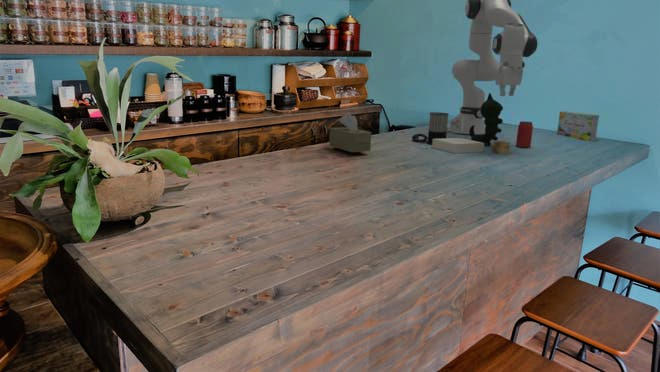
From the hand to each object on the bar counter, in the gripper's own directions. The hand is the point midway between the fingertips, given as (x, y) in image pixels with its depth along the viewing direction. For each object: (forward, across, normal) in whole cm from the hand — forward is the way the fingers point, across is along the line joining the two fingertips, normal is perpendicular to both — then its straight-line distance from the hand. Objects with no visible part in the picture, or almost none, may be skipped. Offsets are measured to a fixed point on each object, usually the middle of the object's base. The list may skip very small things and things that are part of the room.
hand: (506, 96), depth 217 cm
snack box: (+24, +80, -10) cm, 84 cm away
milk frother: (+25, +1, +36) cm, 44 cm away
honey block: (+25, 0, 0) cm, 25 cm away
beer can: (+25, +29, 0) cm, 38 cm away
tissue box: (+25, -44, +50) cm, 71 cm away
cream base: (+25, -8, +17) cm, 31 cm away
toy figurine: (+25, +18, +16) cm, 35 cm away
